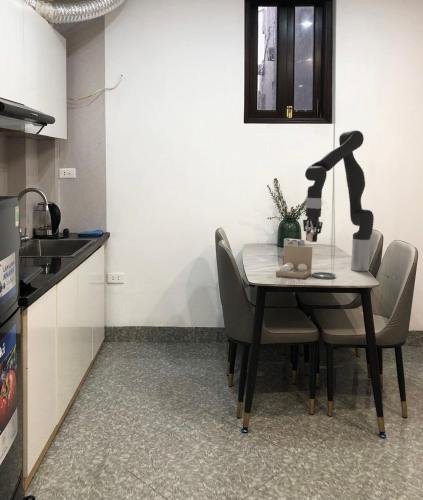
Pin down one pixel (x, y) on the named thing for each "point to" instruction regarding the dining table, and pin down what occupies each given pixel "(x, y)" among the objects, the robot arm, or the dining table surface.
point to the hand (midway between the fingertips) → (311, 241)
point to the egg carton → (297, 261)
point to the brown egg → (310, 236)
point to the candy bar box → (292, 244)
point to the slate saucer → (324, 275)
